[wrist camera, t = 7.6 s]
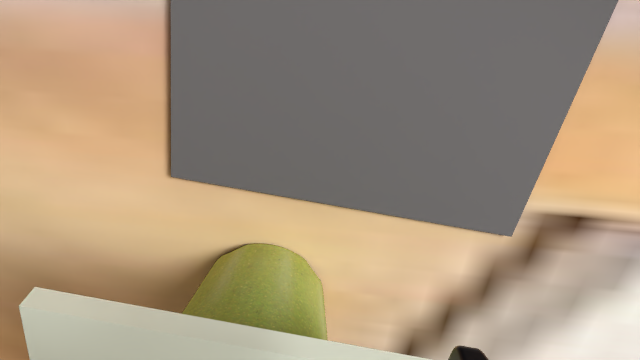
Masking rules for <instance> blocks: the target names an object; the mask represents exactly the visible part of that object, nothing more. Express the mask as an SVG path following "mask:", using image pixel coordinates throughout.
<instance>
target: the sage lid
mask: <svg viewBox="0 0 640 360" xmlns="http://www.w3.org/2000/svg"><path fill="white" fill-rule="evenodd" d="M19 310H20V314H21V319H22V324H23V329H24V334H25V339H26V344H27V349H28V354H29V358H30V360H431V359H426V358H420V357H415V356H409V355H404V354H398V353H393V352H387V351H382V350H376V349H371V348H366V347H360V346H355V345H349V344H344V343H338V342H333V341H327V340H322V339H317V338H311V337H306V336H300V335H295V334H289V333H284V332H278V331H273V330H268V329H262V328H257V327H251V326H246V325H240V324H235V323H229V322H224V321H218V320H213V319H208V318H202V317H197V316H191V315H186V314H180V313H175V312H169V311H164V310H159V309H153V308H148V307H142V306H137V305H131V304H126V303H120V302H115V301H109V300H104V299H99V298H93V297H88V296H82V295H77V294H71V293H66V292H60V291H55V290H50V289H44V288H39V287H34V289H33V290H32V291H31V292H30V293H29V294H28V296H27V297H26V298H25V299H24V300H23V301H22V303H21V304H20V305H19Z"/></svg>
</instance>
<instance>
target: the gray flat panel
mask: <svg viewBox="0 0 640 360" xmlns="http://www.w3.org/2000/svg"><path fill="white" fill-rule="evenodd" d="M617 2H618V0H171V177H175V178H181V179H187V180H192V181H198V182H204V183H209V184H215V185H221V186H226V187H232V188H238V189H244V190H249V191H255V192H261V193H266V194H272V195H278V196H283V197H289V198H295V199H300V200H306V201H312V202H317V203H323V204H329V205H334V206H340V207H346V208H352V209H357V210H363V211H369V212H374V213H380V214H386V215H391V216H397V217H403V218H408V219H414V220H420V221H425V222H431V223H437V224H442V225H448V226H454V227H459V228H465V229H471V230H477V231H482V232H488V233H494V234H499V235H505V236H512V234H513V232H514V230H515V228H516V225H517V223H518V221H519V219H520V217H521V214H522V212H523V210H524V208H525V205H526V203H527V201H528V199H529V197H530V194H531V192H532V190H533V188H534V186H535V183H536V181H537V179H538V177H539V175H540V172H541V170H542V168H543V166H544V163H545V161H546V159H547V157H548V155H549V152H550V150H551V148H552V146H553V144H554V141H555V139H556V137H557V135H558V133H559V130H560V128H561V126H562V124H563V121H564V119H565V117H566V115H567V113H568V110H569V108H570V106H571V104H572V102H573V99H574V97H575V95H576V93H577V90H578V88H579V86H580V84H581V82H582V79H583V77H584V75H585V73H586V71H587V68H588V66H589V64H590V62H591V60H592V57H593V55H594V53H595V51H596V48H597V46H598V44H599V42H600V40H601V37H602V35H603V33H604V31H605V29H606V26H607V24H608V22H609V20H610V18H611V15H612V13H613V11H614V9H615V6H616V4H617Z"/></svg>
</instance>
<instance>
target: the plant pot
mask: <svg viewBox="0 0 640 360" xmlns="http://www.w3.org/2000/svg"><path fill="white" fill-rule="evenodd" d="M182 314H186V315H191V316H197V317H202V318H208V319H213V320H218V321H224V322H229V323H235V324H240V325H246V326H251V327H257V328H262V329H268V330H273V331H278V332H284V333H289V334H295V335H300V336H306V337H311V338H317V339H322V340H327V330H326V319H325V308H324V296H323V288H322V284H321V281H320V279H319V278H318V277H317V276H316V274H315V273H314V271H313V270H312V269H311V267H310V266H309V265H308V263H307V262H306V260H304V259H303V258H302V257H301V256H299V255H298V254H296V253H294V252H292V251H290V250H288V249H285V248H283V247H279V246H275V245H269V244H249V245H245V246H243V247H241V248H238V249H236V250H234V251H232V252H230V253H228V254H225V255H223V256H221V257H220V258H219V259H218V260H217V261H216V262H215V263H214V265H213V267H212V268H211V270H210V271H209V273H208V274H207V276H206V277H205V279H204V280H203V282H202V283H201V285H200V286H199V288H198V289H197V291H196V293H195V294H194V296H193V297H192V299H191V300H190V302H189V303H188V305H187V306H186V308H185V309H184V311H183V312H182Z"/></svg>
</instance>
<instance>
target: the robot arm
mask: <svg viewBox="0 0 640 360" xmlns="http://www.w3.org/2000/svg"><path fill="white" fill-rule="evenodd" d="M448 360H488V358H487V357H486V356H485V354H484V353H483V352H482V351H481V350H479V349H476V348H471V347H465V346H456V347H455V348H454V349H453V351H452V353H451V355H450V357H449V359H448Z"/></svg>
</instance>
